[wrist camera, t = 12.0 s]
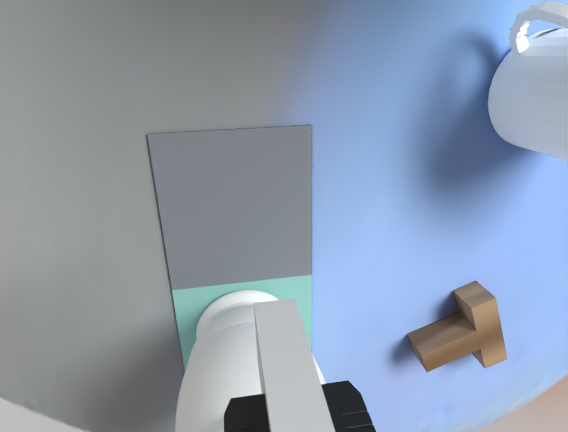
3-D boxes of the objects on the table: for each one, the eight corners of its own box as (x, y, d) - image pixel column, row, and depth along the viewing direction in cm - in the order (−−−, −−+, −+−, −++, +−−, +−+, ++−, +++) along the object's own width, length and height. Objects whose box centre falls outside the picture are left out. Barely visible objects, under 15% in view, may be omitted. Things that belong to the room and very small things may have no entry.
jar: (251, 254, 33) (279, 394, 19) (323, 325, 37) (388, 483, 23) (158, 330, 34) (123, 513, 21) (238, 391, 38) (253, 577, 25)
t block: (400, 313, 39) (414, 333, 36) (475, 280, 39) (495, 297, 36) (418, 369, 42) (433, 391, 39) (487, 338, 42) (507, 358, 39)
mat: (147, 133, 28) (147, 134, 28) (311, 124, 30) (312, 125, 30) (190, 403, 38) (189, 405, 38) (311, 385, 40) (311, 386, 40)
